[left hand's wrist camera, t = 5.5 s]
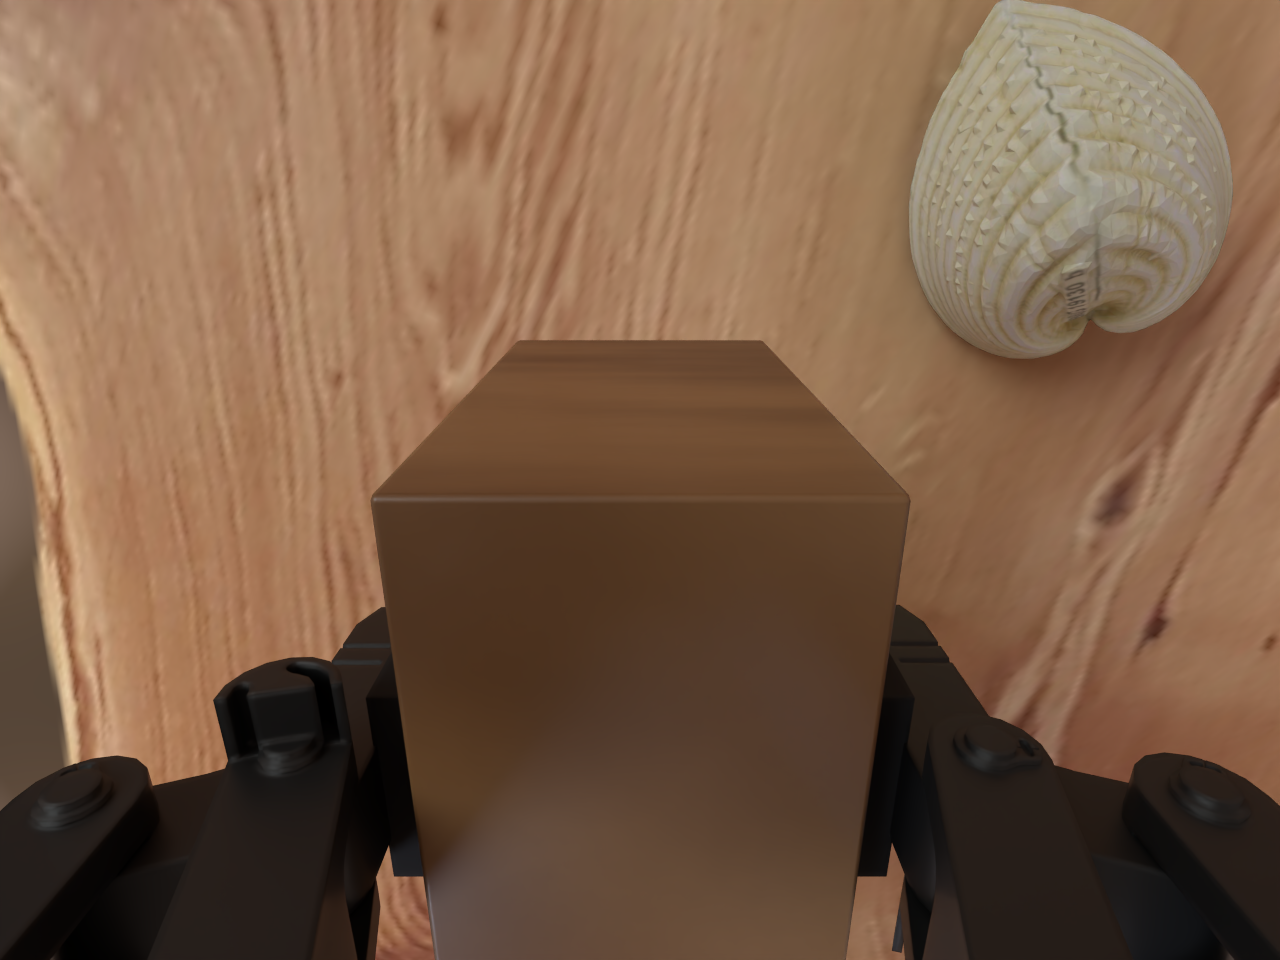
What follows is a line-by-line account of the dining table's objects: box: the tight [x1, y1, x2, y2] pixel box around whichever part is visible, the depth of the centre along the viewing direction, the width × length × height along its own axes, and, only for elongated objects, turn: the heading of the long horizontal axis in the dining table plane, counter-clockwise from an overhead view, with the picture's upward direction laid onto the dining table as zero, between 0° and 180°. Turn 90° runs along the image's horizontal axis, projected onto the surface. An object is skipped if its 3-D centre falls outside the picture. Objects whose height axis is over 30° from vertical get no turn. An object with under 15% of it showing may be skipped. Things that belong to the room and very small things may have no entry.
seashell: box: [909, 0, 1233, 359], centre depth 20 cm, size 8×8×8 cm
